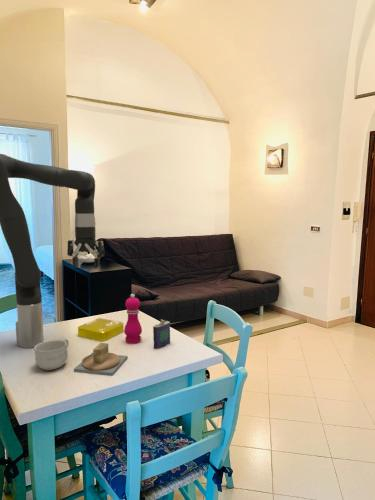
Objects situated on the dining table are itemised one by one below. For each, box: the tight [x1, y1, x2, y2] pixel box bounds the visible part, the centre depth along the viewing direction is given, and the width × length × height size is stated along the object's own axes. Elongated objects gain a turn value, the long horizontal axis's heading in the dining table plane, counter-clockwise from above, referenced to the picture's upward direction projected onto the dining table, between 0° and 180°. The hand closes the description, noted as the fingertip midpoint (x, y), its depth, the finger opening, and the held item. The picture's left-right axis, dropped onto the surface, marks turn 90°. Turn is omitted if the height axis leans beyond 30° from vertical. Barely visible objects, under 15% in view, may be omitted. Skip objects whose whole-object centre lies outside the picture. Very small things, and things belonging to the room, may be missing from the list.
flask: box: [152, 319, 171, 350], centre depth 149 cm, size 9×3×11 cm, turn 144°
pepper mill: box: [123, 293, 143, 345], centre depth 153 cm, size 7×7×20 cm
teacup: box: [33, 338, 69, 371], centre depth 131 cm, size 14×11×8 cm
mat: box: [73, 352, 129, 377], centre depth 132 cm, size 14×14×1 cm
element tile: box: [77, 317, 124, 342], centre depth 163 cm, size 15×15×5 cm
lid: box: [81, 342, 120, 371], centre depth 131 cm, size 13×13×6 cm
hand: (86, 267), depth 144 cm, fingers open, 8 cm apart
